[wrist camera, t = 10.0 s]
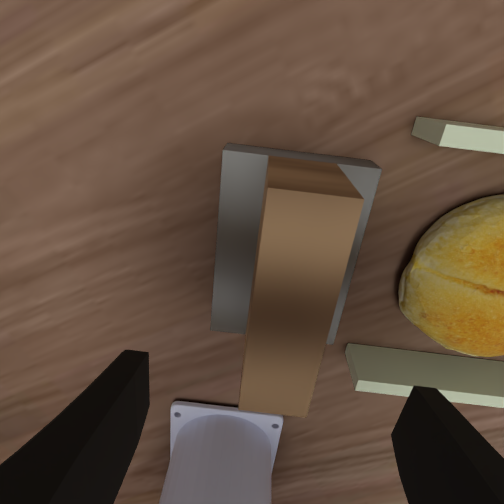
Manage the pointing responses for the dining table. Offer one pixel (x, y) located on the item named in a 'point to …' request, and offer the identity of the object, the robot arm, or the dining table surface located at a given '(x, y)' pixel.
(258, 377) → the scraper
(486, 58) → the dining table surface
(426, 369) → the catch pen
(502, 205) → the bread roll
